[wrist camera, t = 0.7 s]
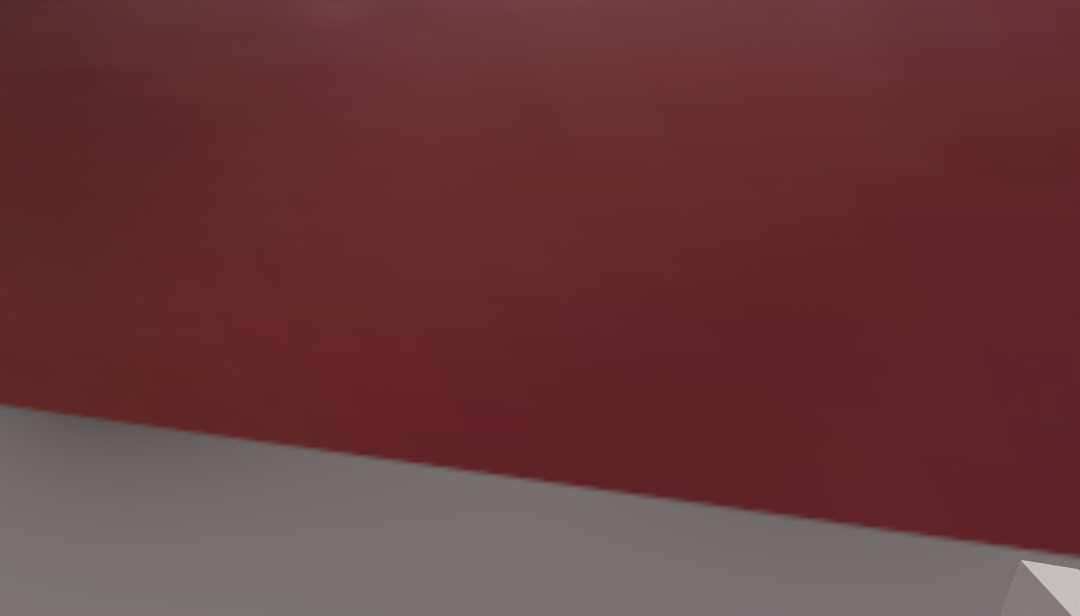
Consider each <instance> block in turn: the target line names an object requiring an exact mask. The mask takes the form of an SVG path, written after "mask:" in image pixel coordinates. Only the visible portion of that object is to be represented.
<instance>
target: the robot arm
mask: <svg viewBox="0 0 1080 616" xmlns="http://www.w3.org/2000/svg"><path fill="white" fill-rule="evenodd" d="M1000 616H1080V571H1079V570H1078V569H1073V568H1067V567H1061V566H1054V565H1048V564H1042V563H1036V562H1030V561H1023V560H1020V563H1019V565H1018V568H1017V571H1016V573H1015V576H1014V579H1013V581H1012V584H1011V587H1010V589H1009V592H1008V594H1007V597H1006V600H1005V602H1004V605H1003V608H1002V610H1001V613H1000Z"/></svg>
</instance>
